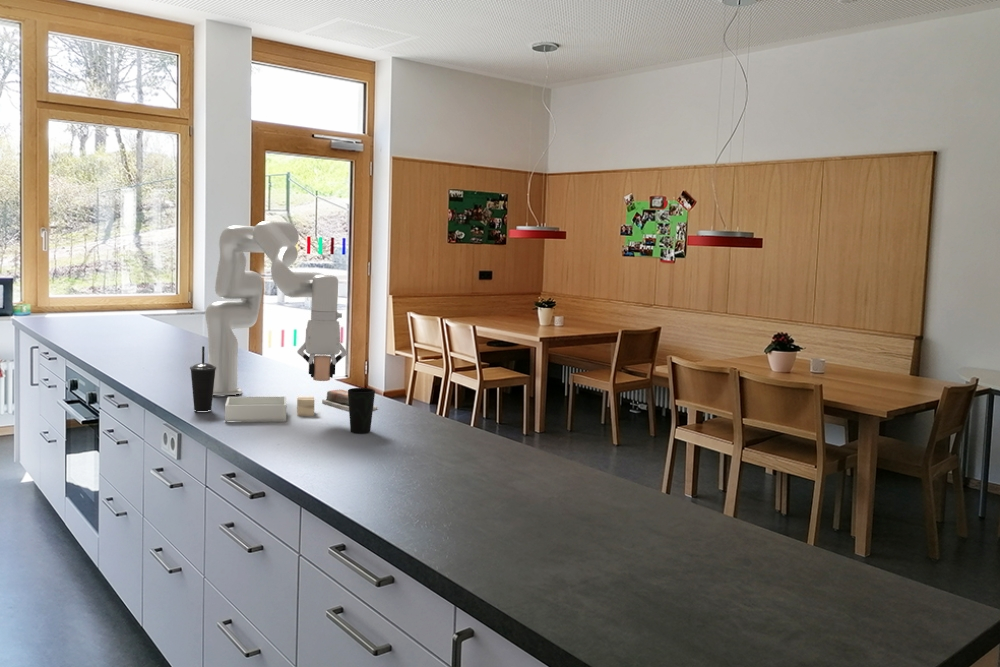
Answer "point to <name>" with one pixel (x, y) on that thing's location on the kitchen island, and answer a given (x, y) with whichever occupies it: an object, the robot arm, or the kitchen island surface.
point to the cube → (305, 406)
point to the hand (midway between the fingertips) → (321, 376)
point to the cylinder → (322, 367)
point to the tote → (256, 409)
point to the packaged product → (338, 399)
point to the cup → (360, 409)
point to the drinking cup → (202, 384)
